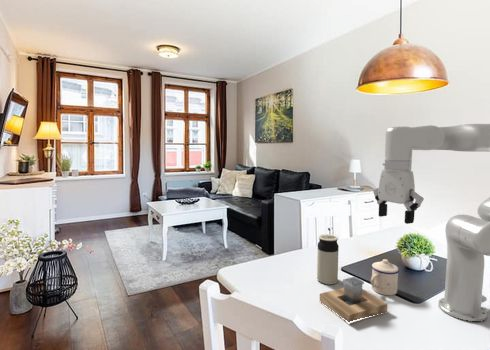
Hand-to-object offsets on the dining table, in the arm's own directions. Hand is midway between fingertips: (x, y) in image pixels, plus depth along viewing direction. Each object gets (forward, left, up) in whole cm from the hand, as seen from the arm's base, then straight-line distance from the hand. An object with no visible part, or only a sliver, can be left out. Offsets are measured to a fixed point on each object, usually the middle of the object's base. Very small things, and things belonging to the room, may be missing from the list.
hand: (395, 219), depth 92 cm
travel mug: (+6, -25, -31) cm, 40 cm away
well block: (+11, -6, -30) cm, 33 cm away
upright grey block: (+11, -6, -30) cm, 32 cm away
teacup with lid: (-7, -10, -31) cm, 33 cm away
